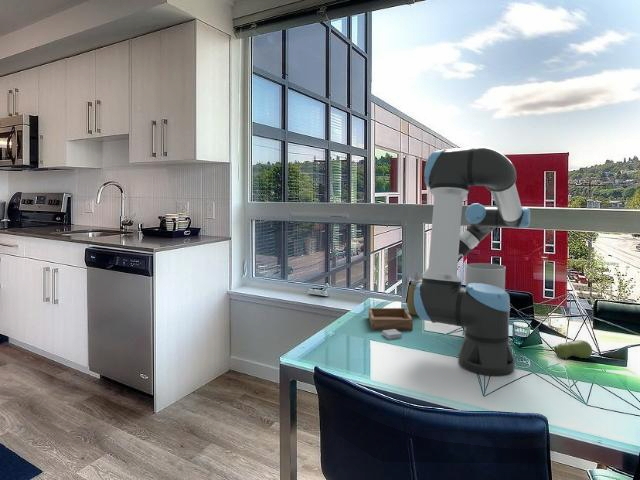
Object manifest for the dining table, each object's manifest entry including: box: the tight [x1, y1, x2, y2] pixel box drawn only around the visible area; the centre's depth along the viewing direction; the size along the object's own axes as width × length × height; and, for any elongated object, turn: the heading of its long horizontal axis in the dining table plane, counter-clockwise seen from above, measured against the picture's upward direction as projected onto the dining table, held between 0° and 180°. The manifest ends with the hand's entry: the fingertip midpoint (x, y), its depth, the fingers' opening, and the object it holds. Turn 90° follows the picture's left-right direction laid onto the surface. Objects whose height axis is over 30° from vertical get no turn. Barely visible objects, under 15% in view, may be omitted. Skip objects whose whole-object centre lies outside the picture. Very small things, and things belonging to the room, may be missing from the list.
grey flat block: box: [381, 329, 403, 340], centre depth 143 cm, size 5×5×2 cm
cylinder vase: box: [465, 262, 507, 291], centre depth 140 cm, size 12×12×25 cm
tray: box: [368, 307, 414, 331], centre depth 156 cm, size 15×15×4 cm
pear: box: [553, 339, 593, 359], centre depth 123 cm, size 6×5×10 cm
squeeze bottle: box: [406, 270, 422, 316], centre depth 168 cm, size 8×8×18 cm
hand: (427, 279), depth 168 cm, fingers open, 13 cm apart
